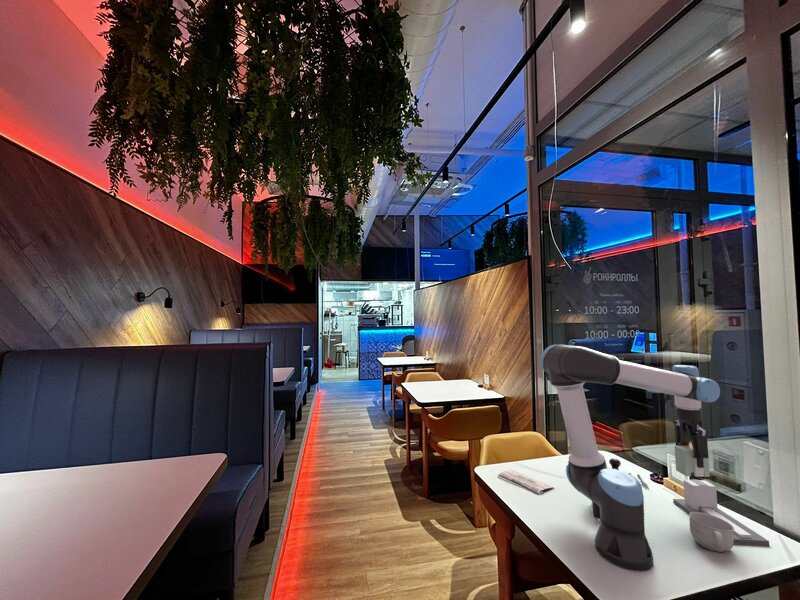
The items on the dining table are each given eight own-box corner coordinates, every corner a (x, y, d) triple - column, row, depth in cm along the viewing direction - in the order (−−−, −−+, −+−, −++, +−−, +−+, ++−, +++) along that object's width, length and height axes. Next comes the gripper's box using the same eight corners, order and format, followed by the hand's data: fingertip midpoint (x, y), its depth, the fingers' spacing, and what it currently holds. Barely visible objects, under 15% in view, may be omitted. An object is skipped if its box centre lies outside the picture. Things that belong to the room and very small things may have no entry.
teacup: (690, 531, 118) (688, 507, 119) (733, 544, 111) (732, 518, 112) (690, 552, 107) (689, 525, 108) (739, 567, 100) (737, 539, 101)
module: (686, 476, 123) (684, 449, 124) (676, 470, 128) (674, 445, 129) (709, 476, 123) (707, 450, 123) (698, 470, 128) (697, 445, 128)
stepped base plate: (728, 543, 112) (726, 509, 112) (673, 502, 137) (671, 475, 138) (769, 545, 110) (766, 511, 111) (705, 504, 136) (704, 476, 137)
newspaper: (495, 478, 161) (496, 472, 161) (513, 475, 167) (513, 469, 168) (538, 498, 142) (538, 491, 142) (556, 493, 148) (556, 487, 149)
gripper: (719, 414, 118) (725, 484, 116) (681, 402, 136) (685, 463, 134) (696, 413, 118) (701, 483, 117) (661, 402, 136) (664, 462, 135)
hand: (692, 472), depth 125 cm, fingers closed on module, 5 cm apart
